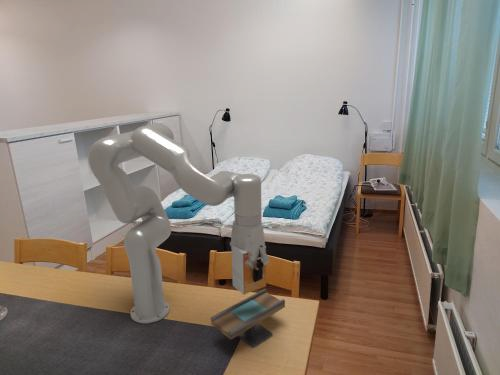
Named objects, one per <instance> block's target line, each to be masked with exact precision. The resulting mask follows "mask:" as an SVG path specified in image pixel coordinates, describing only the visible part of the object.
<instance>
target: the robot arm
mask: <svg viewBox="0 0 500 375" xmlns="http://www.w3.org/2000/svg"><path fill="white" fill-rule="evenodd" d="M174 136H175V135H174V133H173V131H172V129H171V128H170V127H169V126H167V125H166V124H164V123H159V122H158V123H151V124H145V125H142V126H139V127H137V128H136V129H134V130H132V131H127V132H123V133H118V134H114V135H113V134H112V135H108V136H104V137H102V138H99V139H98V140H97V141H95V142H94V143H93V144H92V145H91V147H90V149H89V151H88V156H87V158H88V165H89V168H90V170H91V173H93V176H94V177H95V179H96V180H97V182H98V183H99V185H100V186H101V188H102V190H103V193H104V195H105V197H106V199H107V201H108V203H109V205H110V207H111V209H112V212H113V213H114V215H115V217H116V219H117V220H118V221H119V222H120V223H122V224H126V225H127V224H132V223H134V222H136V221H137V220H140V219H141V222H139V223H137V224H135V225H134V226H133V227H131V228H130V229H129V230H128V231H127V232H126V233H125V235H124V238H123V246H124V249H125V252H126V256H127V259H128V263H129V269H130V270H129V271H130V275H131V276H130V277H131V285H132V286H131V287H132V293H133V294H132V296H133V303H134V306H132V308H131V310H130V318H131V320H132V321H134V322H136V323H139V324H152V323H157V322H159V321H161V320H163V319H164V318H165V317H167V315H168V314H169V312H170V305H169V303H168V302H167V301H166V300H165V298H164V287H163V276H162V266H161V260H160V258H159V256H158V254H157V252H156V250H157V248H158V247H159V246H160V245H162V244H163V243H164V242H165V241H166V240H167V239H169V237H170V235H171V233H172V225H171V221H170V220H169V217H168V215H167V212H166V211H165V209H164V206H163V205H162V202H161V200H160V198H159V196H158V194H157V193H156V192H155V191H154V190H153V189H152V188H151V187H149V186H146V185H139V186H136V187H135V186H134V185H133V183H132V181H131V178H130V177H129V175H128V174H127V173H126V171H124V170H123V169H122V168H121V167H119V164H121V163H125V162H128V161H130V160H134V159H138V158H140V157H144V158H146V159H147V160H149V161H151V162H152V163H154V164H155V165H157V166H158V167H160V168H162V169H163V170H165V171H167V172H168V173H170V174H171V175H172V178H173V179H174V181H175V182H176V184H177V185H178V186H179V187H180V189H181V190H182V191H184V192H185V193H186V194H187V195H189V196H190V197H191V198H193V199H195V200H197V201H198V202H200V203H201V204H204V205H207V206H210V207H217V206H220V205H221V204H223V203H224V202H226V200H228V199H230V198H233V202H234V203H233V205H234V206H233V209H234V212H233V213H234V220H233V222H232V226H231V233H230V234H231V237H230V239H231V240H230V242H229V246H230V249H231V250H232V246H236V247H238V248H240V249H242V250H244V251H246V252H248V261H250V262H253V265H254V268H255V269H253V281H254V282H257V281H259V280H261V279H262V278H263V267H264V266H265V265H266V266H267V265H268V264H269V263H270V261H271V260H270V258H269V256H268V254H267V252H266V253H265V246H266V241H265V231H264V227H263V226H264V225H263V224H262V180H261V177H260V176H258V175H257V174H254V173H253V174H252V173H242V174H241V173H237V172H234V171H229V170H223V171H222V170H221V171H218V172H217V173H215V174H213V175H212V176H208V175H206V174H204V173H202V172H201V171H199V170H198V169H197V168H196V167H195V166H193V164H192V163H191V162H190V159H189V158H190V150H189V149H188V148H187V147H186V146H184V145H183V144H181V143H179V142H177V141H176V140H175V137H174ZM258 255H259V257H258ZM256 260H259V264H257V261H256Z"/></svg>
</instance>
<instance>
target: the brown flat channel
mask: <svg viewBox="0 0 500 375" xmlns="http://www.w3.org/2000/svg"><path fill="white" fill-rule="evenodd" d="M284 308H286V299H283V298H282V299H281V300H280V299H279V298H277V297H275V295H274V296H273V295H272V294H271V293H268V292H267V289H266V288H263V289H261V290H260V291H257V292H256V293H254V294H252V295H250V296H248V297H246V298H245V299H243V300H240V301H239V302H237V303H235V304H233V305H231V306H229V307H227V308H226V309H223V310H222V311H220V312H218V313H216V314H214V315H213V316H211V317H210V320H211V324H210V325H211V326H212V327H213V328H215V329H216V330H218V332H221V334H223V335H224V336H225V337H227V338H228V339H229V340H233V339H235V338H236V337H237V336H238V335H240V334H241V333H243V332H245V331H246V330H248V329H250V328H251V327H253V326H254V325H256V324H258V323H259V324H260V323H261V322H263V321H264V320H266V319H267V318H269V317H271V316H272V315H274V314H276V313H277V312H279V311H282V309H284Z"/></svg>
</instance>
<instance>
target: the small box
mask: <svg viewBox="0 0 500 375" xmlns="http://www.w3.org/2000/svg"><path fill="white" fill-rule="evenodd" d="M265 253H266V254H267V246H266V245H265ZM258 257H259V255H258ZM256 261H257V264H259V260H256ZM231 266H232V267H231V272H232V286H233V287H234V288H235V289H236V290H238V291H239V292H240V293H241V294H242V295H244V296H245V295H246V294H249V293H251V292H254V291H257V290H259V289H262V288H263V289H264V288H265V287H267V264H266V265H265V266H264V267H263V278H262V279H261V280H259V281H257V282H254V281H253V269H255V268H254V265H253V262H250V261H248V252H246V251H244V250H242V249H240V248H238V247H236V246H232V249H231Z"/></svg>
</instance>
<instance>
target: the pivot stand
mask: <svg viewBox="0 0 500 375" xmlns="http://www.w3.org/2000/svg"><path fill="white" fill-rule="evenodd" d="M273 335H274V333H273V332H272V331H270V330H269V329H267V328H266V327H264V326H263V325H261V324H260V322H259V323H258V324H256V325H254V326H253V327H251V328H250V329H248V330H246V331H245V332H243V333H241V334H240V335H238V336H236V337H238V338H239V339H240V340H241V341H243V342H244V343H246V344H247V345H248V346H249V347H250V348H252V349H255V348H256V347H257V346H260V345H261V344H263V343H264V342H266V341H267V340H268V339H270V338H272V337H273Z"/></svg>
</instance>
